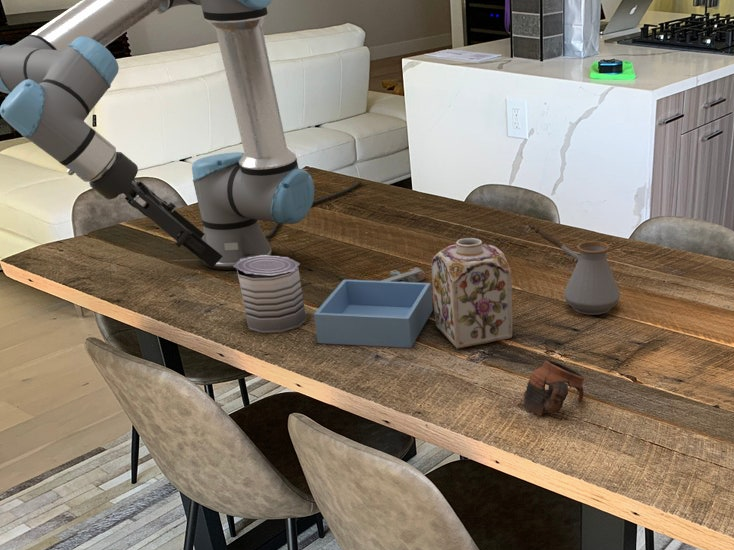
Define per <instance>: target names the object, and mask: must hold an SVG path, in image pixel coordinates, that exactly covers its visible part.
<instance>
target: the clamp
mask: <svg viewBox="0 0 734 550" xmlns="http://www.w3.org/2000/svg"><path fill="white" fill-rule="evenodd" d="M408 270H409V271H407V272H403V273H402V272H401V271H399V270H396V269H394V270H390V271H389V275H390V277H387V278H385V279H381V280H380V281H391V282H398V281H400V280H402V281H401V282H414V283H419V282H421V281H424V279H425V271H424V270H423V269H421V268H420V267H416V266H415V267H414V268H409V269H408Z"/></svg>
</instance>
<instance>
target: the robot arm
mask: <svg viewBox="0 0 734 550" xmlns="http://www.w3.org/2000/svg"><path fill="white" fill-rule="evenodd" d="M272 2H273V0H80V1H78V2H77V3H75V4H74V5H73V6H71V7H70V8H68V9H66V10H65V11H63V12H61V14H59V15H57V16H56V17H54V18H53V19H51V20H50V21H49V22H47V23H45V24H44V25H42V26H41V27H39V28H38V29H36V30H35V31H34V32H31V34H28V36H26V37H24V38H23V39H21V40H19V41H18V42H16V43H15V44H12V45H10V44H1V45H0V92H1V93H5V94H8V95H7V96H6V97H5V99H4V100H3V101H2V103H1V105H0V116H1V118H3V120H4V121H5V122H6V123H8V125H9V126H11V127H12V128H13V129H14V130H15V131H17V132H18V134H20V135H21V136H22V137H24V138H25V139H27V140H29V141H30V142H31V143H32V144H34V145H35V146H37V147H38V148H40V149H41V150H42V151H44V152H45V153H46V154H48V155H49V156H50V157H52V158H53V159H54V160H56V161H57V162H58V163H59V164H61V165H62V166H63V167H65V168H66V169H67V170H66V174H67V175H68V176H73V175H74V174H75V175H76V177H78V178H79V179H80V180H82V181H83V182H85V183H89V186H90V188H92V190H93V191H95V192H96V193H98V194H100V196H102V197H104V199H106V200H113V199H116V198H117V197H118V196H120V195H122V194H123V195H124V196H125V197H124V200H126V203H127V204H128V205H130V206H131V207H132V208H134V209H136V210H137V211H139V212H140V213H141V214H142V215H143V216H145V217H147V218H148V219H150V220H151V221H152V222H153V223H154V224H156V225H157V226H158V227H159V228H160V229H161V230H163V231H164V232H165V233H166V234H167V235H169V236H170V237H171V238H172V239H173V240H175V241H176V242H175V243H174V245H175V246H177V247H178V248H180V247H182V246H183V247H184V248H186V249H187V250H188V251H190V252H191V253H192V254H193V255H194V256H196V257H197V258H199V259H200V260H201V264H202V265H203V266H204V267H206V268H208V269H212V270H219V271H220V270H221V271H237V268H235V267H233V266H234V265H235V264H236V263H237V262H238V261H239V260H240V259H242V258H248V257H254V256H260V255H269V256H273V253H272V247H271V245H270V242H269V241H268V239H270V238H271V237H272V236H273V235H274V233H275V231H276V230H277V229H278V227H279V226H280V225H282V224H284V225H285V224H286V225H295V224H298V223H300V222H302V221H303V220H304V219H305V218H306V217H307V216H308V214H309V213H310V211H311V208H312V206H313V205H316V204H319V203H321V202H325V201H327V200H330V199H332V198H335V197H338V196H340V195H344V194H346V193H349V192H350V191H352V190H354V189H356V188H357V187H359V186H360V185H362V181H359V182H357V183H355V184H353V185H352V186H349V187H348V188H346V189H343V190H341V191H338V192H336V193H333V194H331V195H328V196H325V197H322V198H319V199H317V200H314V199H315V184H314V180H313V177H312V176H311V174H310V173H309V172H308V171H307V170H305V169H302V168H299V164H298V159H297V155H296V154H295V152H293V151H291V150H290V149H289V148H288V147H287V142H286V141H287V140H286V137H285V132H284V127H283V121H282V117H281V111H280V107H279V103H278V102H279V101H278V97H277V93H276V92H277V91H276V88H275V83H274V78H273V73H272V68H271V64H270V58H269V53H268V49H267V44H266V38H265V34H264V29H263V24H264V22H265V21H266V19H267V17H268V16H269V12H268V6H270V4H271V3H272ZM186 5H187V6H188V5H196V6H200V7H201V10H202V14H203V18H204V21H205V22H207V23H208V24H209V25H210V26H212V27H213V28H214V30H215V32H216V37H217V41H218V46H219V50H220V54H221V58H222V63H223V67H224V72H225V76H226V81H227V84H228V88H229V93H230V98H231V101H232V104H233V110H234V115H235V118H236V123H237V127H238V132H239V137H240V140H241V145H242V148H243V152H240V151H237V152H236V151H233V152H223V153H218V154H213V155H208V156H204V157H201V158H199V159H196V160H195V161H194V162H193V163H192V165H191V172H192V182H193V183H192V184H193V186H194V192H195V196H196V200H197V204H198V209H199V213H200V217H201V218H200V219H201V222H202V227H203V231H202V230H201V229H199V228H198V227H197V226H196V225H195V224H193V223H192V222H191V221H189V220H188V219H187V218H185V217H184V216H183V215H182V214H180V213H179V212H178V211H177V210H175V208H176V207H177V206H176V205H175V203H173V202H171V201H170V202H167V201H166V200H163V198H161V197H160V196H158V195H157V194H156V193H155V192H154V191H153V190H151V189H150V187H148V185H146V184H145V183H144V182H142V181H141V180H140V181H138V180H137V179H135V178H136V177H137V174H138V172H139V168H138V165H137V164H136V163H135V162H134V161H132V160H131V159H130V158H129V157H128V156H126V155H125V154H124V153H123V152H121V151H117V147H116V146H115V145H114V144H112V143H111V142H110V141H109V140H107V139H106V138H105V137H104V136H103V135H101V134H100V133H99V132H98V131H96V130H95V129H93V127H91V126H90V125H89V124H88V123H87V122H85V120H86V119H87V118H88V116H89V115H90V114H91V112H92V111H93V109H94V108H95V107H96V106H97V104H98V103H99V101H100V100H101V99H102V98H103V96H104V95H105V94H106V92H107V91H108V90H109V89H110V88H111V86H112V83H113V81H114V80H115V79H116V77H117V75H118V74H119V72H120V71H119V69H120V68H119V67H120V66H119V63H118V61H117V59H116V58H115V57H114V55H113V54H112V53H111V51H110V50H109V49H108V48H107V46H108V45H109V44H111V43H113V42H114V41H115V40H117V39H118V38H119V37H121V36H122V35H123V34H125V33H127V32H128V31H129V30H130V29H132V28H133V27H135V26H136V25H138V24H139V23H140V22H141V21H143V20H145V19H146V18H147V17H149V16H150V15H151V14H155V15H162V14H164V13H166V12H167V11H169V10H170V9H172V8H173V7H174V8H175V7H179V6H186ZM259 221H262V222H269V223H274V224H275V225H274V226H273V228H271V231H270V232H269V233H268V234H266V235H265V233H264V231H263V230H262V227H261V226H260V223H259Z"/></svg>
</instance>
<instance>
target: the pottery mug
mask: <svg viewBox="0 0 734 550" xmlns="http://www.w3.org/2000/svg"><path fill="white" fill-rule="evenodd" d="M541 364H542V365H540V366H538V367H536V369H535V370H533V371H532V372H531V374H530V375H529V380H528V382H527V385H526V389H525V390H524V392H523V394H522V395H523V398H522V402H521V403H522V404H521V405H523V406H524V408H526V410H528V411H530V412H531V413H533V414H535V415H537V416H540V417H542V415H543V411H544V409H545V410H546V411H547V412H548V413H550V414H557V413H559V412H561V409H562V408H563V404H564V401H566V398H567V396H568V395H569V387H573V388H575V389H576V390H577V392H578V398H577V401H578V403H582V402H583V399H584V394H585V393H584V392H585V391H584V386H583V382H584V381H585V378H584V376H583V375H582V374H581V373H579V372H578V371H576V370H574V369H572V368H570V367H567V366H565V365H564V364H561V363H559V362H556V361H553V360H550V359H543V362H542V363H541ZM546 385H547V388H548V389H546Z"/></svg>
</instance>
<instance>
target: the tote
mask: <svg viewBox="0 0 734 550" xmlns="http://www.w3.org/2000/svg"><path fill="white" fill-rule="evenodd" d="M433 308H434V306H433V293H432V283H431V282H415V283H414V282H402V281H394V282H391V281H381V280H365V279H345V278H343V280H342V281H341V282H340V283H339V284H338V285H337V286H336V287H335V288H334V290H333V291H332V292H331V293H330V295H329V296H328V297H327V298H326V299H325V301H324V302H323V303H322V304H321V305H320V306H319V307H318V309H317V310H316V311H315V312H314V313H313V319H314V326H315V333H316V340H317V344H327V345H348V346H349V345H351V346H368V347H369V346H371V347H387V348H390V347H391V348H408V349H409V348H410V349H411V348H412V347H413V345H414V344H415V342H416V341H417V339H418V337H419V335H420V333H421V332H422V330H423V328H424V327H425V325H426V323H427V322H428V319H429V318H430V316H431V315H432V312H433Z"/></svg>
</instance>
